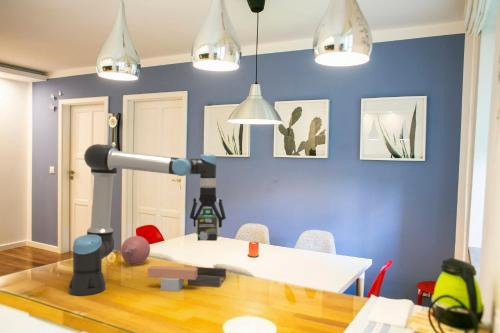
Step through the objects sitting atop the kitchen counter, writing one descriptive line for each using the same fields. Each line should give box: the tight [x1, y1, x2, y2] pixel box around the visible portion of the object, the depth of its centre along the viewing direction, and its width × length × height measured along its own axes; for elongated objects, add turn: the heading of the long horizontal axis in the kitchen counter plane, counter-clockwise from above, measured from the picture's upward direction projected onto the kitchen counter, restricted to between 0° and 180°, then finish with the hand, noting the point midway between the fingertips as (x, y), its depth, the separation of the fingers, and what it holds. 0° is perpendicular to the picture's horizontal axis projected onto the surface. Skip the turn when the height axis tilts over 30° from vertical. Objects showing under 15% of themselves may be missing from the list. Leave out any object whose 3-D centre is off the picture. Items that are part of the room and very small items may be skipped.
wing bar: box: [147, 265, 198, 280], centre depth 177 cm, size 4×22×4 cm, turn 82°
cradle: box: [187, 266, 227, 288], centre depth 187 cm, size 14×15×4 cm
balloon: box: [120, 235, 151, 265], centre depth 215 cm, size 15×20×15 cm
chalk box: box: [197, 207, 219, 242], centre depth 187 cm, size 9×9×15 cm
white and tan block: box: [160, 278, 185, 292], centre depth 177 cm, size 8×8×5 cm
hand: (207, 233), depth 187 cm, fingers closed on chalk box, 10 cm apart
